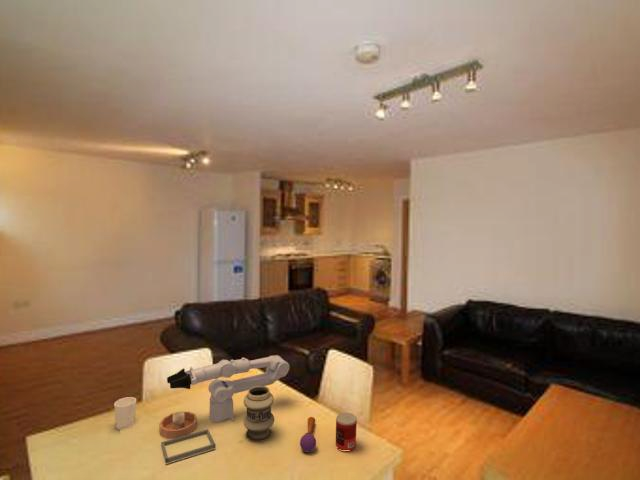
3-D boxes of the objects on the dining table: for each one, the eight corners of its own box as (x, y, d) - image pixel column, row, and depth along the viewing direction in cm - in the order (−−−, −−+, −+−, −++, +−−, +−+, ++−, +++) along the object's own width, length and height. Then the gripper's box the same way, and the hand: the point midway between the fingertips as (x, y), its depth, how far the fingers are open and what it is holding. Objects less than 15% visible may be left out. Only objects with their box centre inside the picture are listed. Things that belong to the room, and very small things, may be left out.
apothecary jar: (237, 434, 142) (237, 390, 141) (261, 422, 151) (261, 380, 150) (255, 447, 134) (256, 401, 133) (280, 434, 143) (280, 390, 142)
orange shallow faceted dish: (192, 417, 153) (192, 408, 153) (200, 434, 141) (200, 424, 141) (157, 426, 146) (157, 417, 146) (162, 444, 134) (162, 434, 134)
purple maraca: (319, 415, 150) (317, 441, 130) (316, 429, 150) (313, 457, 130) (306, 412, 150) (301, 437, 130) (303, 426, 150) (297, 453, 130)
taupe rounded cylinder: (183, 423, 147) (183, 410, 146) (185, 429, 143) (185, 415, 143) (171, 426, 144) (171, 413, 144) (173, 432, 141) (173, 418, 140)
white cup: (127, 432, 142) (126, 407, 141) (109, 429, 143) (109, 405, 143) (140, 421, 149) (140, 398, 149) (124, 419, 151) (124, 395, 150)
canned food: (357, 442, 139) (358, 414, 138) (352, 454, 131) (353, 425, 131) (338, 437, 141) (339, 410, 141) (332, 449, 134) (333, 421, 133)
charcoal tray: (207, 434, 141) (207, 429, 141) (215, 450, 132) (215, 444, 132) (161, 447, 133) (161, 442, 133) (165, 465, 123) (165, 459, 123)
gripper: (199, 360, 154) (165, 368, 147) (207, 368, 142) (170, 377, 135) (200, 377, 154) (166, 385, 147) (208, 386, 141) (172, 396, 134)
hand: (168, 382), depth 141 cm, fingers open, 7 cm apart
